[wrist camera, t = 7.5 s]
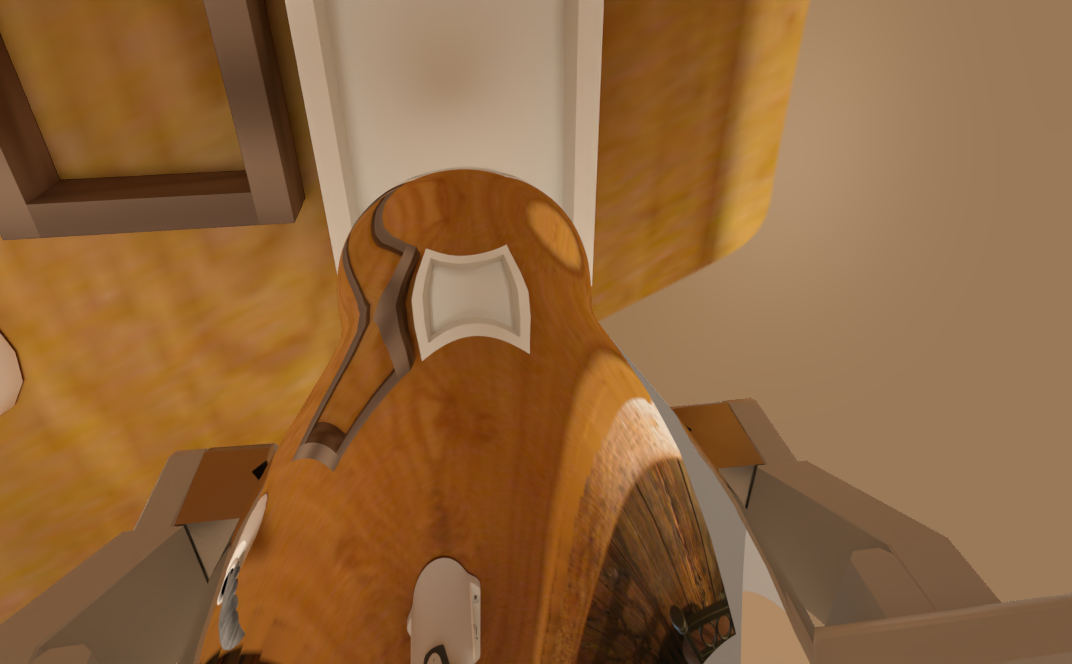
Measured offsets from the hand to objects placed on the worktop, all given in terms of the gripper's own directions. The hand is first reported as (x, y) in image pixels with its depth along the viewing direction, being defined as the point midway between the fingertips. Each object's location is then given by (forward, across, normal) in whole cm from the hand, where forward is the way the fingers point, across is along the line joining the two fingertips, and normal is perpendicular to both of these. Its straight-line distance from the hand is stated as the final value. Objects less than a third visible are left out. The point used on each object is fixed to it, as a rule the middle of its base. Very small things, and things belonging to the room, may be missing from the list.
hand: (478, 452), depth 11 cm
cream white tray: (+23, 0, 0) cm, 23 cm away
